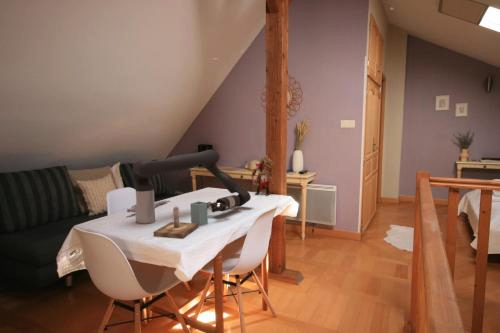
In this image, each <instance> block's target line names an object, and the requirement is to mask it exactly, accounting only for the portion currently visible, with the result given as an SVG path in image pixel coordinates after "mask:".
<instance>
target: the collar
mask: <svg viewBox="0 0 500 333" xmlns="http://www.w3.org/2000/svg"><path fill="white" fill-rule="evenodd" d="M207 203H208V202H206V201H199V200H198V201H195V202H191V203H190V223H198V227H201V226H205V225H207V224H208V222H209V221H208V209H207V208H208V207H207Z"/></svg>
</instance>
